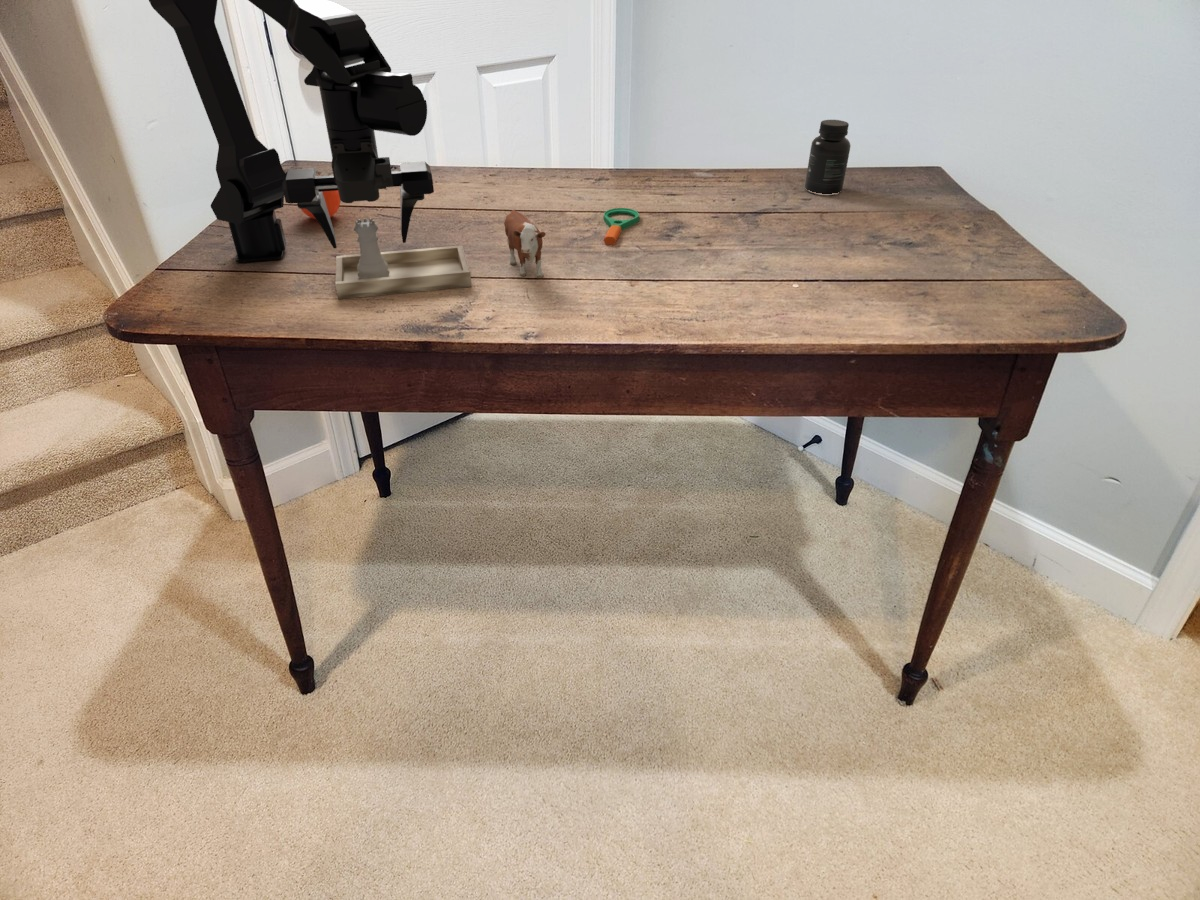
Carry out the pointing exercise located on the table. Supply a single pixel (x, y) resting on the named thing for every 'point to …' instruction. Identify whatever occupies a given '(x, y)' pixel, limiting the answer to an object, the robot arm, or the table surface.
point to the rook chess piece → (369, 251)
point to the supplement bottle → (828, 158)
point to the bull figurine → (524, 241)
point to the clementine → (328, 203)
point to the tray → (405, 272)
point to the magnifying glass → (618, 223)
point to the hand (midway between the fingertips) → (370, 244)
